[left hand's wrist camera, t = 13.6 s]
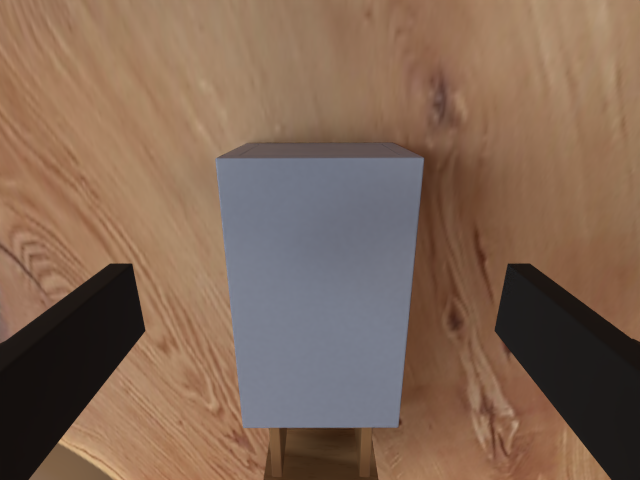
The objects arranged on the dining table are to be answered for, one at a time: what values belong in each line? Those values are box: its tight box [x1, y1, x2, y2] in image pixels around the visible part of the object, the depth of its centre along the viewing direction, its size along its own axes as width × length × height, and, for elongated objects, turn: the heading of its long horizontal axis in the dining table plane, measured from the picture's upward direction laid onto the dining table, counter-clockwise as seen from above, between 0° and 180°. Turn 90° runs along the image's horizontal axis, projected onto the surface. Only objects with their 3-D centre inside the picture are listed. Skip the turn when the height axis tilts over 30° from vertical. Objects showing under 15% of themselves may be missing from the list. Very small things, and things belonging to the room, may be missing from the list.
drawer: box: [264, 428, 378, 480], centre depth 30 cm, size 23×9×6 cm, turn 0°
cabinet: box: [216, 143, 424, 428], centre depth 25 cm, size 18×11×8 cm, turn 0°
